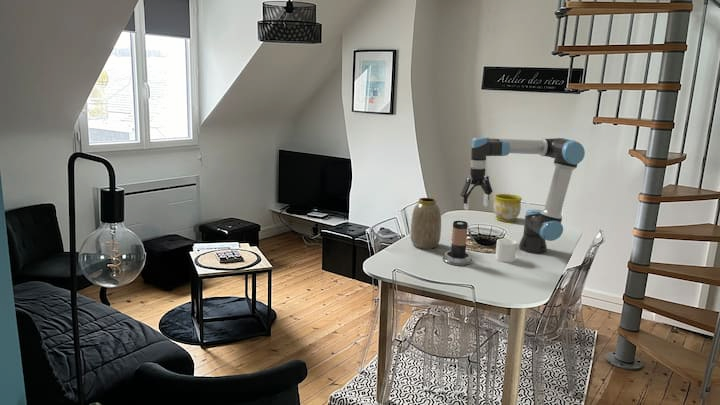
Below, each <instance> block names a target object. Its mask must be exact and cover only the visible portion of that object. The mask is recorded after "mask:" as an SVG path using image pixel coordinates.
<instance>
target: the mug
mask: <svg viewBox="0 0 720 405" xmlns="http://www.w3.org/2000/svg"><path fill="white" fill-rule="evenodd" d="M495 246H496V247H495V257H494V258H495V260H496V261H497V262H501V263H506V264H507V263H508V264H509V263H514V262H515V260H516V251H517V250H516V249H517V241H516V240H514V239H510V238H498V239H497V240H496V245H495Z"/></svg>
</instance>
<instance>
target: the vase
mask: <svg viewBox="0 0 720 405" xmlns="http://www.w3.org/2000/svg"><path fill="white" fill-rule="evenodd" d="M441 211H442V210H441V208H440V206H439V205H438V204H437V199H435V198H433V197H420V198H419V199H418V203H417V204H416V205H414V208H413V210H412V215H411V219H410V220H411V221H410V222H411V223H410V242H411V243H412V245H413V246H414V247H416V248H418V249H426V250H429V249H430V250H431V249H434V248H437V247H438V246H439V243H440V241H441V234H442V212H441Z"/></svg>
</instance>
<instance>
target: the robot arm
mask: <svg viewBox="0 0 720 405" xmlns="http://www.w3.org/2000/svg"><path fill="white" fill-rule="evenodd" d="M470 153H471V155H470V156H471V157H470V167H471V168H470V170H469V171H470V173H469V174H470V176H471V177H470V178H469V177H466V178H465V183H464V185H463V188H462V190H461V193H460V196H461V197H463V209H464V210H466V211H469V209H470V197H469V196H470V195H471V193H472V191H473V190H474V188H476V187H478V186H480V187H481V189H482V190H483V192H484V193H483V202H482V203H483V205H482V206H483V207H489V200H490V195H492V193H493V188H492V186H491V183H490V177H489V175H486V168H487V167H486V166H487V164H486V163H487V157H504V156H508V155H509V154H522V155H523V154H524V155H540V157H547V158H552V159H554V160H553V165H554V166H555V169H554V172H553V175H552V179H551V182H550V183H551V184H550V187H549V191H548V194H547V197H546V201H545V204H544V208H543V209H527V210H526V211H525V215H524V226H523V234H522V237H521V239H520V241H519V243H518V248H519V249H520V250H521V251H523V252H527V253H530V254H531V253H532V254H533V253H534V254H543V253H547V250H548V249H547V248H548V246H547V242H546V241H548V242H549V241H550V242H551V241H552V242H553V241H556V240H558V239H559V238H561V236H562V234H563V232H564V226H563V224H562V222H563V216H562V209H563V206H564V202H565V198H566V195H567V192H568V188H569V185H570V181H571V177H572V173H573V171H575V169H577V167H578V164H580V163H581V162H582V161H583V160H584V158H585V153H586V151H585V148H584V146H583V145H582V143H580V142H578V141H576V140H573V139H572V140H571V139H568V138H561V137H555V138H541V139H540V140H539V139H538V140H537V139H513V138H512V139H510V138H490V137H480V136H479V137H473V138H472V140H471V152H470Z"/></svg>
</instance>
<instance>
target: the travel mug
mask: <svg viewBox="0 0 720 405" xmlns="http://www.w3.org/2000/svg"><path fill="white" fill-rule="evenodd" d="M468 227H469V224H468V222H467V221H463V220H454V221H453V222H452V233H451V235H452V236H451V245H450V246H451V247H450V248H451V249H450V251H451V257H454V258H465V252H467V251H466V250H467V239H468Z"/></svg>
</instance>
